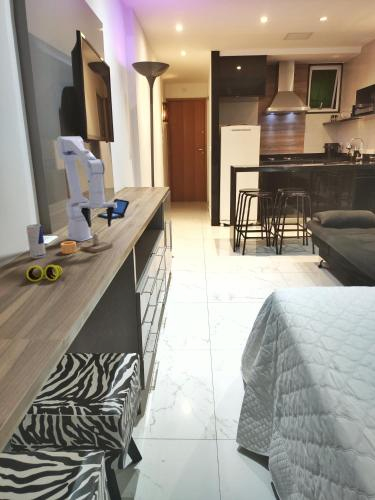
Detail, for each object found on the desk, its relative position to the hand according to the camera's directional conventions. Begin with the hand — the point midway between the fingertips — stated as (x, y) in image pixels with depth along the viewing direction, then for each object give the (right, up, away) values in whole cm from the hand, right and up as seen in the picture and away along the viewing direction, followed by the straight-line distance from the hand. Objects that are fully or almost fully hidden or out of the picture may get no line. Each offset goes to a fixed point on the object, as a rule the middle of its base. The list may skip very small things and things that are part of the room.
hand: (99, 226), depth 143 cm
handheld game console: (-9, +10, +70) cm, 71 cm away
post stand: (-2, -9, +3) cm, 10 cm away
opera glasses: (-10, -19, -29) cm, 36 cm away
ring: (-12, -10, 0) cm, 16 cm away
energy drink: (-22, -12, -5) cm, 26 cm away
